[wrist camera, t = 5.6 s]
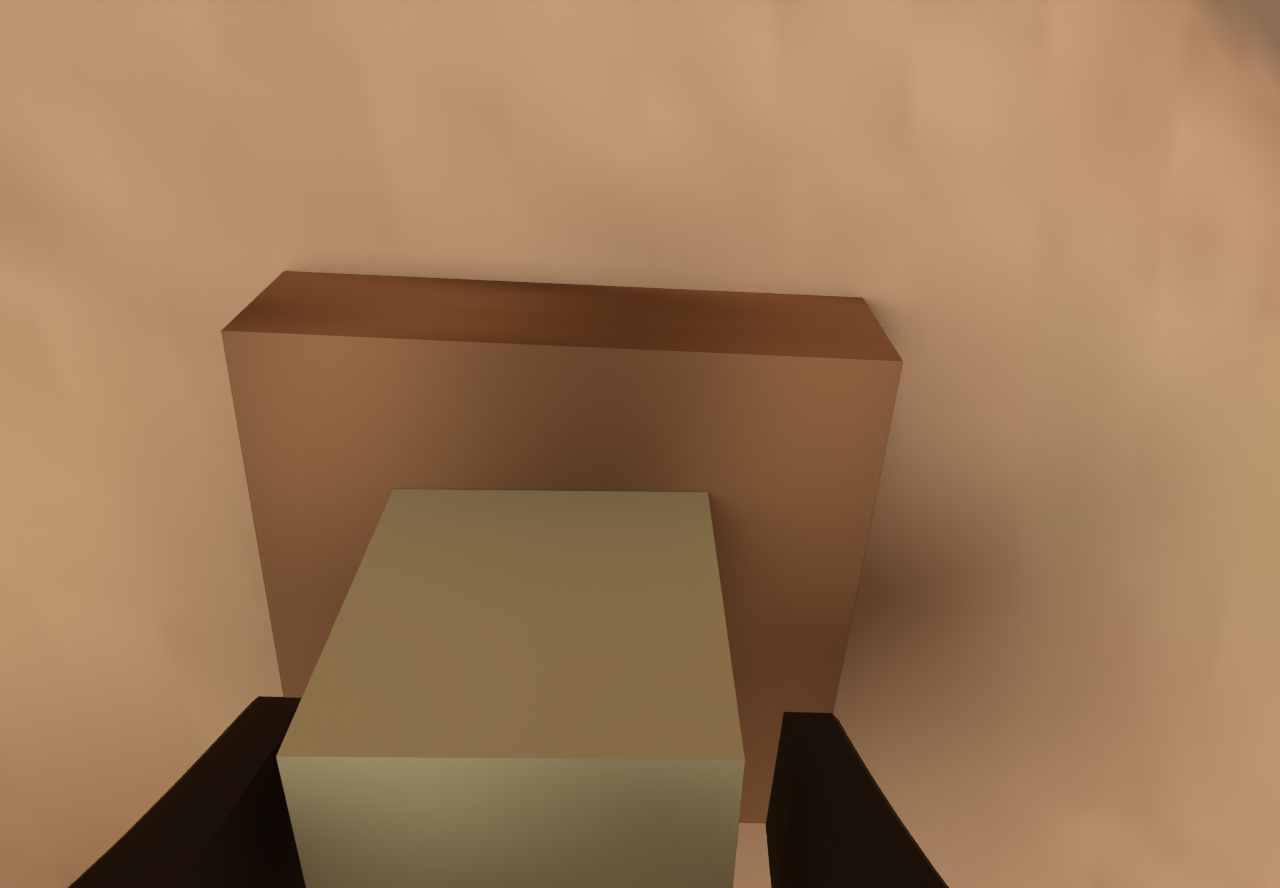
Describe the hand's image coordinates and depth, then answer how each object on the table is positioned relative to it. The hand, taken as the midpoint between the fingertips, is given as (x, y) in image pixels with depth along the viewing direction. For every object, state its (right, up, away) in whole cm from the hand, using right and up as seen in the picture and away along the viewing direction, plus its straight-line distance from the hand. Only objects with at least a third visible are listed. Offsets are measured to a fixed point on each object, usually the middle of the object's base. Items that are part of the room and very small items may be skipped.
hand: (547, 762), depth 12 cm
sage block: (0, +1, +3) cm, 3 cm away
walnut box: (0, +3, +5) cm, 6 cm away
